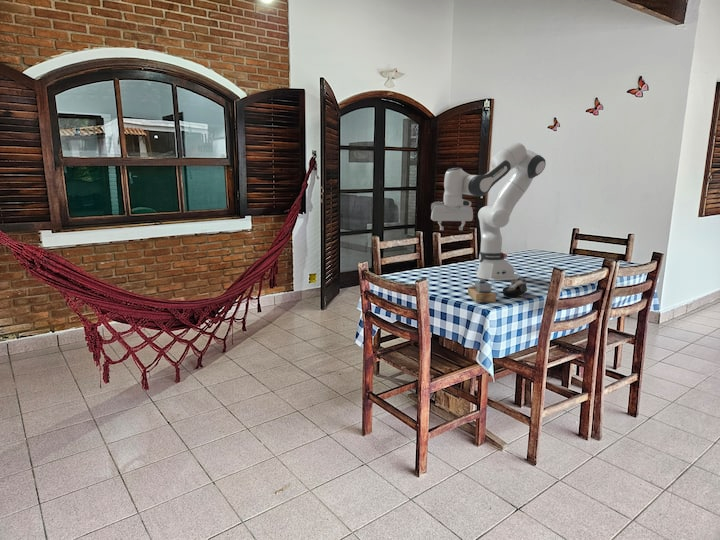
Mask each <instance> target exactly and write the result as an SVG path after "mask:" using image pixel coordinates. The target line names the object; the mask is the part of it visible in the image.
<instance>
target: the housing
mask: <svg viewBox="0 0 720 540" xmlns="http://www.w3.org/2000/svg"><path fill="white" fill-rule="evenodd" d="M474 286H475V289H474V290H475V291H476V292H477V293H490V287H491V286H492V285H491V283H489V282H488V281H487V280H486V279H482V278H479V279H478V280H474Z"/></svg>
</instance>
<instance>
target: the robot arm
mask: <svg viewBox="0 0 720 540" xmlns="http://www.w3.org/2000/svg"><path fill="white" fill-rule="evenodd" d="M490 163H491V168H492V169H491V170H489V171H487V173H485V174H470V173H468V172H466V171H464V170H463V168H462V167H452V168H448V169H447V170H446V172H445V174H444V178H443V179H444V181H443V188H444V192H443V201H434V202H432V203H431V204H430V211H431V215H430V220H432V221H433V222H437V224H438V225H439V231H444V228H445V227H444V226H442V224H443V223H442V222H461V225H460V226H459V227H458V230H459V231H463V230H464V229H463V228H464V227H465V225H466V222H472V221H473V219H474V212H473V211H474V210H473V207H472V201H470V200H467V199H466V198H463V195H465V196H466V195H467V196H475V197H480V198H481V197H484V196H486V195H487V194H488V193H489V192H490V190H491V189H492V187H493V186H494V185H496V184H497V183H498V182H499V181H500V180H502V179H503V178H504V177H505V176H506V175H507V174H508V173H509V172H510V171H511V170H513V169H516V171H515V172H514V173H513V174H512V175H511V176H510V177H509V178H508V179H507V181H506V182H505V183H504V185H502V188H500V190H499V191H498V193H497V197H496V199H495V201H494V203H493V204H492V205H485V206H483V207H481V208H480V209H478V210H479V211H478V213H477V217H478V221H479V228H480V251H479V255H478V261H479V263H478V268H477V272H476V274H475V277H476V278H479V279H482V280H489V281H494V282H495V281H513V280H519V276H518V275H517V274H515V269H514V266H513V265H512V264H511V263H509V262H508V261H507V260H506V259H505V258H507V257H508V254H507V253H503V252H502V248H503V247H502V244H503V236H502V233H501V228H503V227H505V226H507V225H508V224H509V222H510V217H511V214H512V212H513V210H514V208H515V206H516V205H517V203H518V202H519V201H520V200H521V198H522V197H523V195H524V194H525V193H526V191H527V190H528V189H529V188H530V185H531V184H532V181H533V180H534V178H536V177H537V176H539V175H540V174H542V172H543V171H544V170H545V168H546V166H547V165H546V164H547V163H546V159H545V158H544V157H543V156H542V155H541V154H538V153H536V152H534V151H531V150H530V149H527V148H526V146H525V145H524V144H523V143H520V142H515V143H514V142H513V143H512V144H510V145H507V146H505V147H503V148H501V150H499V151H497V152H496V153H495V154H494V155H493V156H492V157H491V161H490Z"/></svg>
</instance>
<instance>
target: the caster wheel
mask: <svg viewBox="0 0 720 540" xmlns="http://www.w3.org/2000/svg"><path fill="white" fill-rule="evenodd" d="M526 281H527V280H526V278H520V279H517V280H510V284H509V285H508V286H505V287H504V288H503V289H502V296H503V297H506V298H516V297H518V298H519V296H521V297H523V296H525V294H526V292H528V289H527V288H528V287H527V282H526Z"/></svg>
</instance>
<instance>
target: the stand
mask: <svg viewBox="0 0 720 540" xmlns="http://www.w3.org/2000/svg"><path fill="white" fill-rule="evenodd" d="M467 289H468V290H467V295H468V296H469V297H470V298H471V299H472V300H473V301H474V302H475V303H496V302H497V293H496V292H494V293H493V292H492V291H490V293H477V292H476V291H475V290H474V289H475V285H474V286H473V285H472V286H468V287H467Z"/></svg>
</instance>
